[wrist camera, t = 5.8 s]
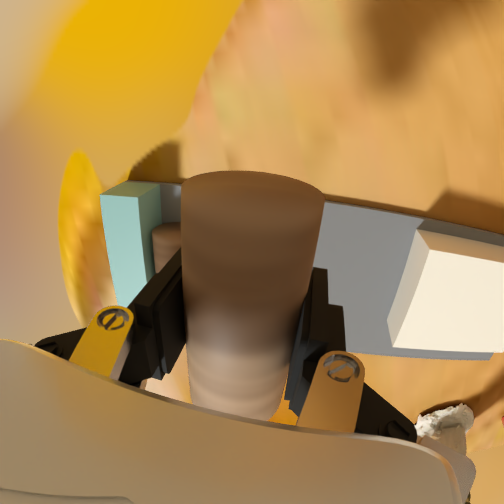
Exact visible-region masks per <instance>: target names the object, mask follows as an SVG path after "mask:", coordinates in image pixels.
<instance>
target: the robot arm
mask: <svg viewBox="0 0 504 504" xmlns="http://www.w3.org/2000/svg"><path fill="white" fill-rule="evenodd" d="M185 343H186V337H185V322H184V305H183V284H182V255H181V247H180V248H179V250H178V251H177V252H176V253H175V254H174V255H173V256H172V258H171V259H170V260H169V261H168V262H167V263H166V265H165V266H164V267H163V268H162V269H161V270H160V272H159V273H156V274H155V275H154V276H153V277H152V278H151V279H150V280H149V281H148V283H147V284H146V285H145V286H144V287H143V289H142V290H141V291H140V292H139V293H138V294H137V296H136V297H135V298H134V299H133V300H132V302H131V303H130V304H129V305H128V307H127V308H126V307H123V306H108V307H105V308H103V309H101V310H99V311H98V312H97V313H96V314H95V315H94V317H93V318H92V320H91V322H90V323H89V325H88V327H87V328H83V329H79V330H75V331H71V332H67V333H63V334H60V335H55V336H52V337H47V338H45V339H42V340H41V341H39V342H37V343H36V344H35V346H32V344H26V343H22V342H18V341H14V340H9V339H0V504H465V502H466V499H467V497H468V494H469V492H470V489H471V487H472V484H473V482H474V479H475V475H476V469H475V465H474V463H473V462H472V461H471V459H469V458H468V457H467V456H465V455H463V454H461V453H459V452H457V451H455V450H453V449H451V448H449V447H447V446H445V445H444V444H442V443H440V442H438V441H436V440H434V439H432V438H430V437H429V436H427V435H424V436H423V437H421V436H419V435H417V430H416V428H415V426H414V424H413V423H412V422H411V421H410V420H409V419H408V418H406V417H405V416H404V415H403V414H402V413H400V412H399V411H398V410H397V409H396V408H394V407H393V406H392V405H391V404H390V403H388V402H387V401H386V400H385V399H383V398H382V397H381V396H380V395H379V394H377V393H376V392H375V391H374V390H373V389H372V388H370V387H369V386H368V385H367V384H366V383H364V377H365V368H364V366H363V363H362V362H361V361H360V360H359V359H358V358H357V357H356V356H354V355H353V354H350V353H348V352H346V340H345V324H344V311H343V306H340V305H334V304H329V297H328V269H324V268H318V267H313V269H312V272H311V277H310V282H309V287H308V291H307V294H306V296H305V300H304V304H303V309H302V313H301V318H300V322H299V326H298V331H297V335H296V339H295V343H294V347H293V351H292V356H291V360H290V364H289V371H288V378H287V384H286V391H285V397H284V400H290V403H289V409H291V410H292V411H293V412H294V413H295V414H296V415H297V416H298V420H297V423H296V425H295V426H293V425H286V424H280V423H274V422H268V421H263V420H258V419H252V418H247V417H243V416H238V415H233V414H229V413H225V412H220V411H216V410H212V409H208V408H204V407H200V406H196V405H193V404H189V403H185V402H182V401H178V400H175V399H171V398H168V397H165V396H161V395H158V394H155V393H152V392H149V391H146V390H145V387H146V383H147V379H148V378H151V377H152V378H155V379H158V380H162V379H163V377H164V375H165V373H168V374H169V373H170V372H171V370H172V368H173V366H174V364H175V362H176V361H177V359H178V357H179V355H180V353H181V351H182V349H183V347H184V345H185Z"/></svg>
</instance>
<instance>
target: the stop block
mask: <svg viewBox="0 0 504 504" xmlns="http://www.w3.org/2000/svg"><path fill="white" fill-rule="evenodd" d="M100 202H101V210H102V218H103V225H104V232H105V239H106V245H107V251H108V257H109V263H110V269H111V274H112V279H113V284H114V289H115V294H116V298H117V303H118V306H123V307H126V308H127V307H128V305H129V304H130V303H131V302H132V300H133V299H134V298H135V297H136V296H137V294H138V293H139V292H140V291H141V290H142V289H143V287H144V286H145V285H146V284H147V283H148V281H149V280H150V279H151V278H152V277H153V276H154V275H155V274H156V271H155V262H154V252H153V241H152V230H153V229H154V228H155V227H157V226H159V225H161V224H162V217H161V198H160V184H150V183H134V182H123V183H121V184H119V185H117V186H115V187H113V188H111V189H109V190H107V191H106V192H104V193H102V194H100Z"/></svg>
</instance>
